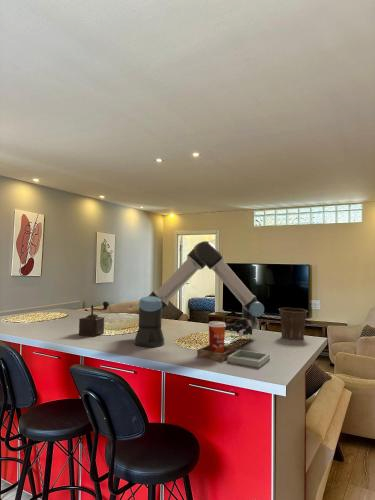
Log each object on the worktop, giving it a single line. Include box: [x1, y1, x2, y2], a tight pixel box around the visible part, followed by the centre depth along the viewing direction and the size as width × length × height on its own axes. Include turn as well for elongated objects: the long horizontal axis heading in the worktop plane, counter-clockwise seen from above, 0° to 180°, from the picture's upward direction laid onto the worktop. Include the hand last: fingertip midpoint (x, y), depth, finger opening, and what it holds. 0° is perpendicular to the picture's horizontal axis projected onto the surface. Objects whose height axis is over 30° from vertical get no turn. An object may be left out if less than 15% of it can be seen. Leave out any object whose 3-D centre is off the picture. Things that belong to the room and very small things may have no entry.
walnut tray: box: [196, 344, 236, 362], centre depth 156 cm, size 13×13×3 cm
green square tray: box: [227, 349, 271, 369], centre depth 148 cm, size 14×14×2 cm
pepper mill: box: [78, 301, 110, 338], centre depth 197 cm, size 16×11×18 cm
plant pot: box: [278, 307, 309, 341], centre depth 198 cm, size 16×16×16 cm
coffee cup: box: [207, 320, 226, 353], centre depth 156 cm, size 8×8×15 cm
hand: (226, 332), depth 165 cm, fingers open, 13 cm apart
